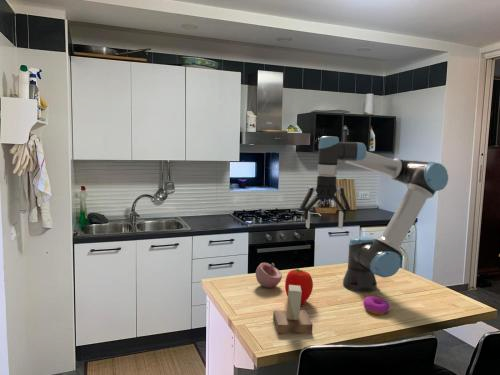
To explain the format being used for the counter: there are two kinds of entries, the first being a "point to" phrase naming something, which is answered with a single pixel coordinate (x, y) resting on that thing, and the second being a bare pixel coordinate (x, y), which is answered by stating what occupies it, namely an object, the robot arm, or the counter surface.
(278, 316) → the walnut block
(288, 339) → the counter surface
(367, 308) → the donut
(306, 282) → the tomato
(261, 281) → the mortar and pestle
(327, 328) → the counter surface
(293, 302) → the box
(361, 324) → the counter surface
